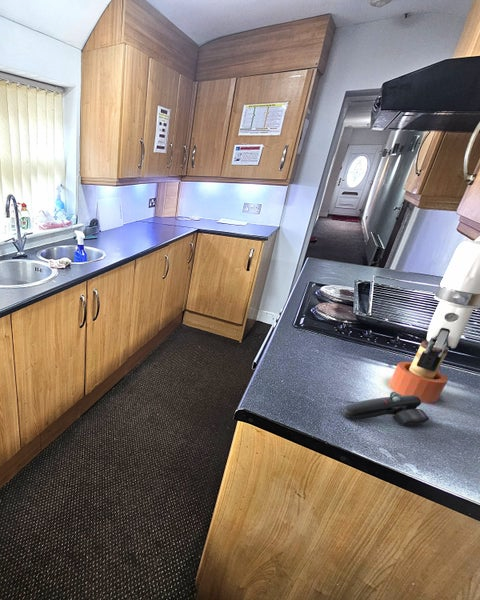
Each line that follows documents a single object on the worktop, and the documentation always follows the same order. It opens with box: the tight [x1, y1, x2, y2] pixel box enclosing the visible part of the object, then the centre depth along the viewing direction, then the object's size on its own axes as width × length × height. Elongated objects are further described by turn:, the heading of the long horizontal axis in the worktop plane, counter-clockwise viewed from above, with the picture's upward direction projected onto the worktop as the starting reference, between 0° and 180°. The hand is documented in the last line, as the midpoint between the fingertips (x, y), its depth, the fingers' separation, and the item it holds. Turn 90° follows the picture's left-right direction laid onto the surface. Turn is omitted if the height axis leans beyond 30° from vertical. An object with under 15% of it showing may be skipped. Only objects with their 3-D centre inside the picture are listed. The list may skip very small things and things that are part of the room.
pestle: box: [408, 340, 450, 379], centre depth 82 cm, size 5×5×14 cm
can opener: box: [342, 390, 430, 427], centre depth 75 cm, size 18×7×6 cm, turn 91°
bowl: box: [388, 361, 449, 404], centre depth 83 cm, size 9×9×7 cm
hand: (426, 363), depth 81 cm, fingers open, 5 cm apart
